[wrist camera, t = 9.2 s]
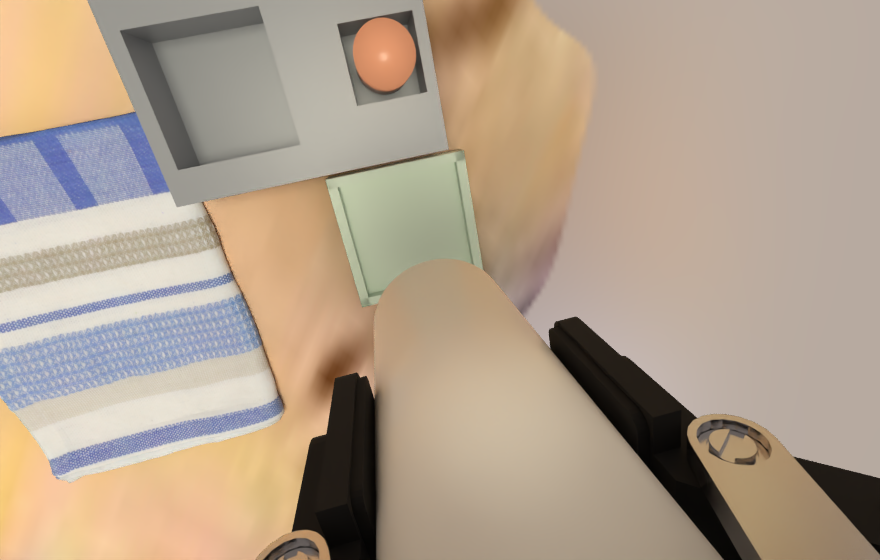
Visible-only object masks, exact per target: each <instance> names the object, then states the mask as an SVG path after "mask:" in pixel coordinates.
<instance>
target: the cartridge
mask: <svg viewBox="0 0 880 560" xmlns="http://www.w3.org/2000/svg"><path fill="white" fill-rule="evenodd" d="M374 394H375V490H376V560H723V558H722V557H721V556H720V555H719V553H718V552H717V551H716V550H715V549H714V547H713V546H712V545H711V544H710V543H709V541H708V540H707V539H706V538H705V536H704V535H703V534H702V533H701V532H700V530H699V529H698V528H697V527H696V525H695V524H694V523H693V522H692V521H691V519H690V518H689V517H688V516H687V515H686V513H685V512H684V511H683V510H682V508H681V507H680V506H679V505H678V504H677V502H676V501H675V500H674V499H673V498H672V496H671V495H670V494H669V493H668V491H667V490H666V489H665V488H664V487H663V485H662V484H661V483H660V482H659V480H658V479H657V478H656V477H655V476H654V474H653V473H652V472H651V471H650V470H649V468H648V467H647V466H646V465H645V463H644V462H643V461H642V460H641V459H640V457H639V456H638V455H637V454H636V453H635V451H634V450H633V449H632V448H631V446H630V445H629V444H628V443H627V442H626V440H625V439H624V438H623V437H622V436H621V434H620V433H619V432H618V431H617V429H616V428H615V427H614V426H613V425H612V423H611V422H610V421H609V420H608V418H607V417H606V416H605V415H604V414H603V412H602V411H601V410H600V409H599V408H598V406H597V405H596V404H595V403H594V401H593V400H592V399H591V398H590V397H589V395H588V394H587V393H586V392H585V391H584V389H583V388H582V387H581V386H580V384H579V383H578V382H577V381H576V380H575V378H574V377H573V376H572V375H571V374H570V372H569V371H568V370H567V369H566V367H565V366H564V365H563V364H562V363H561V361H560V360H559V359H558V358H557V356H556V355H555V354H554V353H553V352H552V350H551V349H550V348H549V347H548V346H547V344H546V343H545V342H544V341H543V340H542V338H541V337H540V336H539V335H538V333H537V332H536V331H535V330H534V329H533V327H532V326H531V325H530V324H529V323H528V321H527V320H526V319H525V318H524V316H523V315H522V314H521V313H520V312H519V310H518V309H517V308H516V307H515V305H514V304H513V303H512V302H511V301H510V299H509V298H508V297H507V296H506V294H505V293H504V292H503V291H502V290H501V288H500V287H499V286H498V285H497V284H496V282H495V281H494V280H493V279H492V278H491V277H490V276H489V275H488V274H487V273H486V272H484V271H483V270H482V269H480V268H479V267H477V266H475V265H473V264H470V263H468V262H465V261H461V260H456V259H435V260H429V261H425V262H422V263H419V264H417V265H414V266H412V267H410V268H408V269H407V270H405V271H403V272H402V273H401V274H400V275H398V276H397V277H396V278H395V279H394V280H393V281H392V282H391V283H390V284H389V285H388V286H387V288H386V289H385V290H384V292H383V294H382V295H381V297H380V299H379V302H378V304H377V307H376V311H375V315H374Z"/></svg>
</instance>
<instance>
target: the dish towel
mask: <svg viewBox="0 0 880 560" xmlns="http://www.w3.org/2000/svg"><path fill="white" fill-rule="evenodd" d="M0 397H1V399H2V400H3V401H4V402H5V403H6V404H7V406H8V408H9V409H10V410H11V411H12V412H14V413H15V414H16V416H17V417H18V418H19V419H20V421H21V422H22V423H23V424H24V426H25V427H26V428H27V429H28V431H29V432H30V433H31V435H32V436H33V437H34V439H35V440H36V441H37V442H38V444H39V446H40V447H41V449H42V450H43V452H44V454H45V455H46V457H47V459H48V460H49V462H50V466H51V469H52V474H53V475H54V476H56V478H57V479H60V480H64V481H65V480H66V481H67V482H69V483H71V482H74V481H76V480H77V479H79V478H81V477H82V476H84V475H89V474H95V473H100V472H104V471H109V470H113V469H117V468H120V467H124V466H128V465H132V464H136V463H140V462H143V461H146V460H149V459H153V458H158V457H161V456H165V455H168V454H171V453H173V452H176V451H180V450H184V449H187V448H191V447H194V446H198V445H202V444H206V443H213V442H220V441H223V440H226V439H230V438H234V437H237V436H241V435H244V434H248V433H252V432H255V431H258V430H261V429H263V428H266V427H268V426H271V425H273V424H275V423H276V422H277V421H279V420H280V419H281V417H282V415H283V414H284V408H283V404H282V401H281V399H280V397H279V395H278V393H277V389H276V384H275V380H274V377H273V374H272V372H271V369H270V367H269V364H268V361H267V358H266V355H265V352H264V349H263V346H262V342H261V338H260V336H259V334H258V330H257V328H256V326H255V323H254V319H253V318H252V315H251V312H250V310H249V308H248V306H247V303H246V301H245V300H244V298H243V295H242V293H241V291H240V289H239V287H238V285H237V283H236V281H235V279H234V277H233V275H232V273H231V270H230V268H229V266H228V263H227V261H226V258H225V255H224V253H223V250H222V248H221V243H220V241H219V238H218V235H217V233H216V231H215V228H214V225H213V224H212V222H211V220H210V218H209V215H208V213H207V211H206V209H205V207H204V205H203V203H202V202H200V203H195V204H190V205H186V206H181V207H176V204H175V202H174V200H173V197H172V195H171V193H170V190H169V188H168V186H167V183H166V181H165V179H164V177H163V174H162V172H161V170H160V167H159V165H158V163H157V160H156V158H155V156H154V153H153V151H152V149H151V147H150V144H149V142H148V140H147V137H146V135H145V133H144V130H143V128H142V126H141V123H140V121H139V119H138V116H137V114H136V112H132V113H128V114H124V115H119V116H115V117H110V118H104V119H98V120H93V121H88V122H83V123H78V124H73V125H68V126H63V127H57V128H52V129H47V130H43V131H36V132H30V133H24V134H17V135H11V136H5V137H0Z"/></svg>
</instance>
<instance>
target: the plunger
mask: <svg viewBox="0 0 880 560" xmlns="http://www.w3.org/2000/svg"><path fill="white" fill-rule="evenodd" d="M353 57H354V62H355V66H356V70H357V74H358V76H359V78H360V80H361V82H362V83H363V84H364V86H365V87H366V88H368V89H369V90H370V91H372V92H374V93H377V94H381V95H388V94H392V93H395V92H396V91H398V90H399V89H400V88H402V86H403V85H404V84H405V82H406V81H407V80H408V78H409V77H410V75H411V74H412V72H413V69H414V67H415V63H416V48H415V44H414V41H413V39H412V37H411V35H410V33H409V32H408V30H407V29H406V28H405V27H404V26H403V25H402V24H400V23H399V22H397V21H395V20H393V19H390V18H375V19H372V20H370V21H368V22H367V23H365V24H364V25H363V26H362V27H361V28H360V29H359V31H358V32H357V34H356V37H355V39H354V44H353Z"/></svg>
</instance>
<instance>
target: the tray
mask: <svg viewBox="0 0 880 560" xmlns="http://www.w3.org/2000/svg"><path fill="white" fill-rule="evenodd" d="M325 181H326V184H327V188H328V191H329V195H330V198H331V201H332V205H333V208H334V212H335V215H336V219H337V222H338V226H339V229H340V232H341V236H342V239H343V243H344V246H345V250H346V253H347V257H348V260H349V263H350V267H351V270H352V274H353V277H354V281H355V284H356V288H357V291H358V294H359V298H360V301H361V305H362V307H366V306H370V305H374V304H378V302H379V299H380V297H381V295H382V294H383V292H384V290H385V289H386V288H387V286H388V285H389V284H390V283H391V282H392V281H393V280H394V279H395V278H396V277H397V276H398V275H400V274H401V273H402V272H403V271H405V270H407V269H408V268H410V267H412V266H414V265H417V264H419V263H422V262H425V261H429V260H435V259H456V260H461V261H465V262H468V263H470V264H473V265H475V266H477V267H479V268H480V269H482V270H483V266H482V259H481V253H480V247H479V241H478V235H477V229H476V223H475V216H474V210H473V204H472V198H471V192H470V186H469V180H468V173H467V167H466V161H465V155H464V150H459V149H458V150H453V151H448V152H444V153H439V154H434V155H430V156H425V157H420V158H416V159H411V160H406V161H401V162H397V163H392V164H387V165H383V166H378V167H373V168H369V169H364V170H359V171H355V172H350V173H345V174H341V175H336V176H331V177H328V178H327V179H326V180H325Z"/></svg>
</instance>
